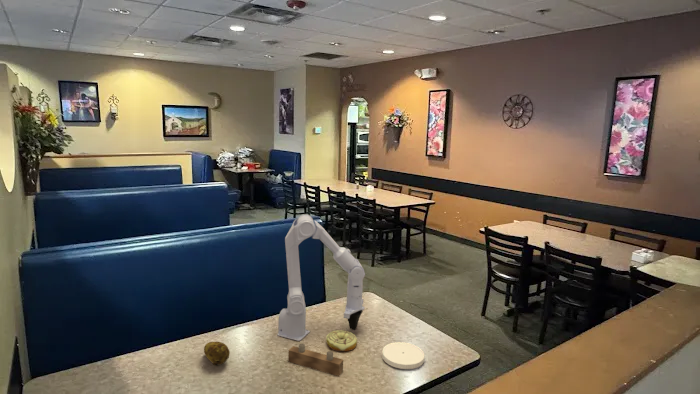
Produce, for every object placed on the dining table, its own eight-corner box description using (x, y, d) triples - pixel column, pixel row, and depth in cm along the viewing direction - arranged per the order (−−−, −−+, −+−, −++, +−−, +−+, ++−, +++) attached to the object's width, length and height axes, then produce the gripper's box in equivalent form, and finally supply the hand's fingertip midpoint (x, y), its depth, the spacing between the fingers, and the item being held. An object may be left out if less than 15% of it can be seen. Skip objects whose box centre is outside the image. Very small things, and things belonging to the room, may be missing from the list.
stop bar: (288, 361, 135) (288, 344, 134) (293, 357, 138) (293, 340, 137) (338, 376, 128) (339, 358, 127) (342, 371, 131) (343, 353, 130)
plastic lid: (413, 346, 148) (413, 340, 148) (431, 369, 135) (431, 362, 134) (376, 351, 144) (376, 344, 144) (390, 374, 131) (391, 367, 131)
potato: (231, 350, 140) (231, 328, 139) (228, 372, 128) (228, 348, 127) (205, 352, 138) (204, 330, 137) (200, 375, 126) (199, 350, 125)
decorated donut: (345, 357, 140) (345, 346, 139) (320, 346, 146) (320, 336, 145) (362, 344, 148) (362, 334, 147) (337, 334, 154) (338, 325, 153)
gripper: (357, 303, 146) (355, 340, 148) (371, 289, 159) (369, 323, 161) (338, 300, 148) (337, 335, 151) (354, 286, 162) (352, 319, 164)
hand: (353, 328), depth 156 cm, fingers closed
